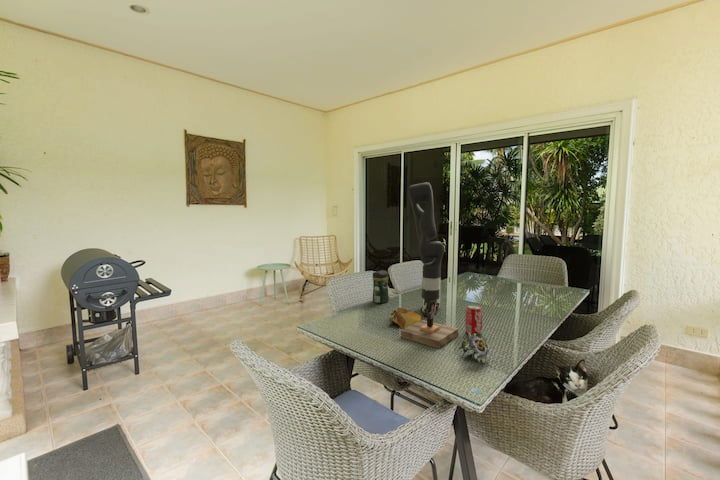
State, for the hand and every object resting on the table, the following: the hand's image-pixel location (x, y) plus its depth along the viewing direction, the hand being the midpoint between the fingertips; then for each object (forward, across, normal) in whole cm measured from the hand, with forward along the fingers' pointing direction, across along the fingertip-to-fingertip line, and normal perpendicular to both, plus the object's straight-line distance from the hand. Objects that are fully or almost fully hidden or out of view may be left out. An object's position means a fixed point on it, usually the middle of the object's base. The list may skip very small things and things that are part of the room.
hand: (429, 326), depth 148 cm
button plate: (+4, 0, 0) cm, 4 cm away
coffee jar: (+5, -29, -49) cm, 57 cm away
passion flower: (+5, +9, +23) cm, 25 cm away
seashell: (+5, -7, -18) cm, 20 cm away
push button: (+4, 0, 0) cm, 4 cm away
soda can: (+5, -16, +13) cm, 21 cm away
